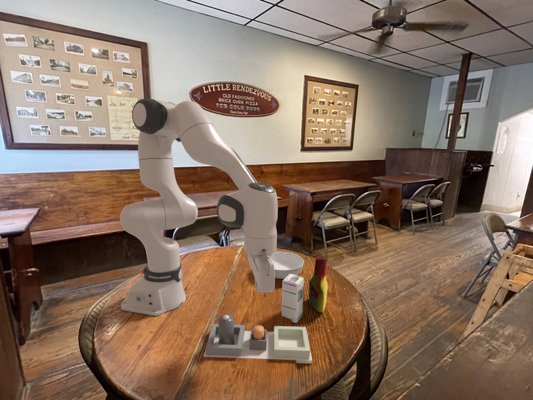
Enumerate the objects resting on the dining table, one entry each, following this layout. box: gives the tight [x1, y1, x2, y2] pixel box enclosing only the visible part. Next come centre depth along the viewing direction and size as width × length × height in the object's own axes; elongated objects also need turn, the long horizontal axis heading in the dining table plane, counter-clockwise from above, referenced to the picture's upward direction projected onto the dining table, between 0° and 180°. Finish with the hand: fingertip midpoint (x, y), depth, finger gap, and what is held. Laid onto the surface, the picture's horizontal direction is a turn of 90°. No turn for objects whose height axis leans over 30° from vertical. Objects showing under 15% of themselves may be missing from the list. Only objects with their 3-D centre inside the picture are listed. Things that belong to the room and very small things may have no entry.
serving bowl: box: [271, 251, 305, 280], centre depth 124 cm, size 21×21×7 cm
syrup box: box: [281, 274, 305, 324], centre depth 92 cm, size 6×6×14 cm
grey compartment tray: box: [203, 323, 313, 365], centre depth 79 cm, size 30×11×4 cm, turn 89°
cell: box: [217, 313, 235, 345], centre depth 78 cm, size 4×4×9 cm
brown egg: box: [253, 324, 265, 340], centre depth 78 cm, size 3×3×4 cm
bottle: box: [308, 255, 329, 313], centre depth 98 cm, size 12×6×20 cm, turn 178°
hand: (259, 289), depth 76 cm, fingers closed
